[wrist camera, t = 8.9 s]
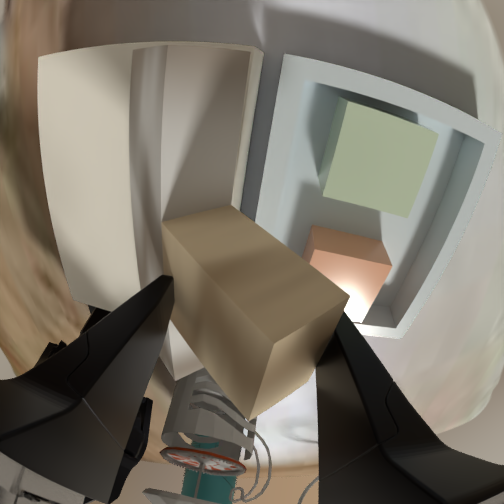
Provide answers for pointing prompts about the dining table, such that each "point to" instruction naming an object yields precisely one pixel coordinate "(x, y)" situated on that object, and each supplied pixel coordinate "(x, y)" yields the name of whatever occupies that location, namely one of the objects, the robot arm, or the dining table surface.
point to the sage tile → (375, 158)
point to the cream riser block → (104, 163)
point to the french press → (208, 424)
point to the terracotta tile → (349, 265)
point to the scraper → (217, 235)
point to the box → (363, 218)
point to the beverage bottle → (208, 481)
